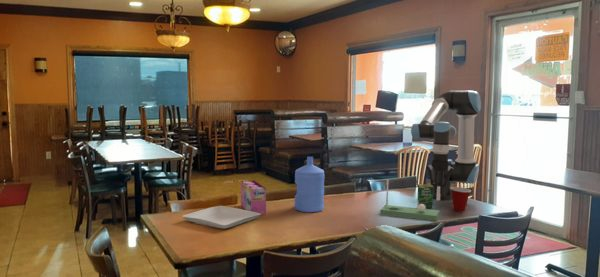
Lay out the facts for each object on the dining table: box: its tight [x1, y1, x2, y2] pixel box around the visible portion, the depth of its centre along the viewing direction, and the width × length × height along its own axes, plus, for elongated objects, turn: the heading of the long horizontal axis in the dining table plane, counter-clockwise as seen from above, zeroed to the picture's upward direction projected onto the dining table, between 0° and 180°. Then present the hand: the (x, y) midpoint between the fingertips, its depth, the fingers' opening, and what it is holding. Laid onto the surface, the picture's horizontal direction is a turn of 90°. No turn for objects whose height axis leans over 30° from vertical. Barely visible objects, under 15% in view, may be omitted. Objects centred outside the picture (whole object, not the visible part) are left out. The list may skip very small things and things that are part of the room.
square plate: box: [181, 205, 261, 230], centre depth 225 cm, size 27×27×4 cm
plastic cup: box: [450, 186, 472, 213], centre depth 254 cm, size 11×11×12 cm
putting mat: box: [379, 204, 440, 222], centre depth 243 cm, size 12×28×2 cm, turn 68°
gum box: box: [240, 180, 267, 216], centre depth 248 cm, size 24×8×14 cm, turn 21°
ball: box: [417, 204, 427, 212], centre depth 239 cm, size 4×4×4 cm
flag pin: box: [385, 179, 389, 206], centre depth 250 cm, size 4×1×14 cm, turn 158°
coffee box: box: [416, 183, 434, 209], centre depth 258 cm, size 8×3×13 cm, turn 92°
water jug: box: [293, 156, 325, 213], centre depth 250 cm, size 16×16×28 cm
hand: (438, 199), depth 236 cm, fingers closed
